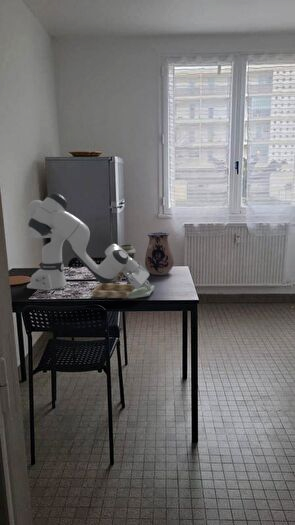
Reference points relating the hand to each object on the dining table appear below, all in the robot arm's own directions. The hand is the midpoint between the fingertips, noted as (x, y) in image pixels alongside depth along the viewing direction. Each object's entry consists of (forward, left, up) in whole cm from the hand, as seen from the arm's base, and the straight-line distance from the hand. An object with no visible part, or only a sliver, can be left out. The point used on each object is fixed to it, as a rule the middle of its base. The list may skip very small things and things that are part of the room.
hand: (150, 288), depth 207 cm
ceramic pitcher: (-4, +46, -5) cm, 47 cm away
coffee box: (-26, +26, -5) cm, 37 cm away
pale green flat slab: (-10, 0, -3) cm, 11 cm away
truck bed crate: (-20, 0, -4) cm, 21 cm away
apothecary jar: (-24, +43, -5) cm, 50 cm away
